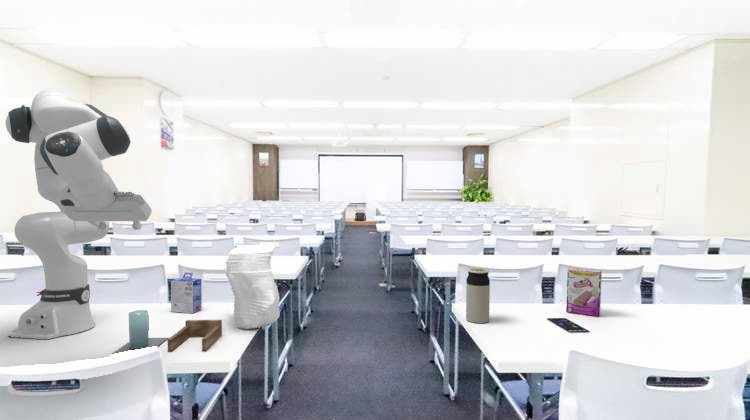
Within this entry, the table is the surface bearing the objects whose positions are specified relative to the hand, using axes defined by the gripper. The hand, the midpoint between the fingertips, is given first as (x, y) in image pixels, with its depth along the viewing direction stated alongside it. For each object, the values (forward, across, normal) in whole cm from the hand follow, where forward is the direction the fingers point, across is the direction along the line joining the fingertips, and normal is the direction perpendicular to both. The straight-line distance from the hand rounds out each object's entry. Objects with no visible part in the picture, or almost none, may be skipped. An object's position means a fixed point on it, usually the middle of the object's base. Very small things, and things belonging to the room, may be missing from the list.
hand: (120, 227), depth 111 cm
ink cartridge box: (+54, 0, -4) cm, 55 cm away
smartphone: (+39, -137, +12) cm, 143 cm away
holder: (+30, -17, +20) cm, 40 cm away
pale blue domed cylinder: (+29, -2, +21) cm, 35 cm away
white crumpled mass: (+44, -28, +7) cm, 52 cm away
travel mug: (+44, -108, +7) cm, 117 cm away
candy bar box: (+48, -150, +2) cm, 158 cm away
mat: (+28, -2, +22) cm, 36 cm away
